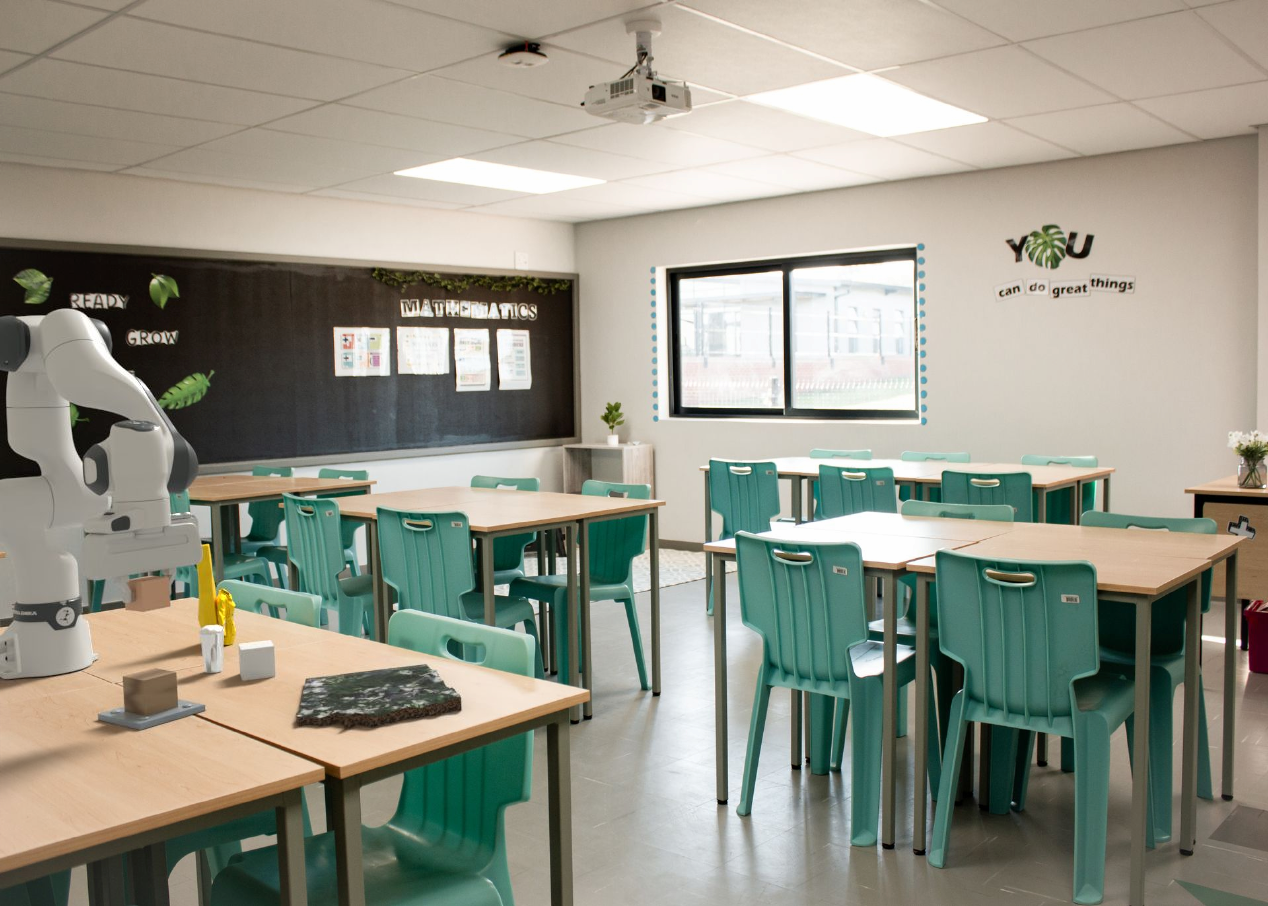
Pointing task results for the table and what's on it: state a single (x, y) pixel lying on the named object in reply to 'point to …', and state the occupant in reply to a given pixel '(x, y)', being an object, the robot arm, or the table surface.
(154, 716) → the plate
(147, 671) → the block
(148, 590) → the block
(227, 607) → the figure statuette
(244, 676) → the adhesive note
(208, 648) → the milkshake
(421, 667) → the topographical map
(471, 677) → the table surface
